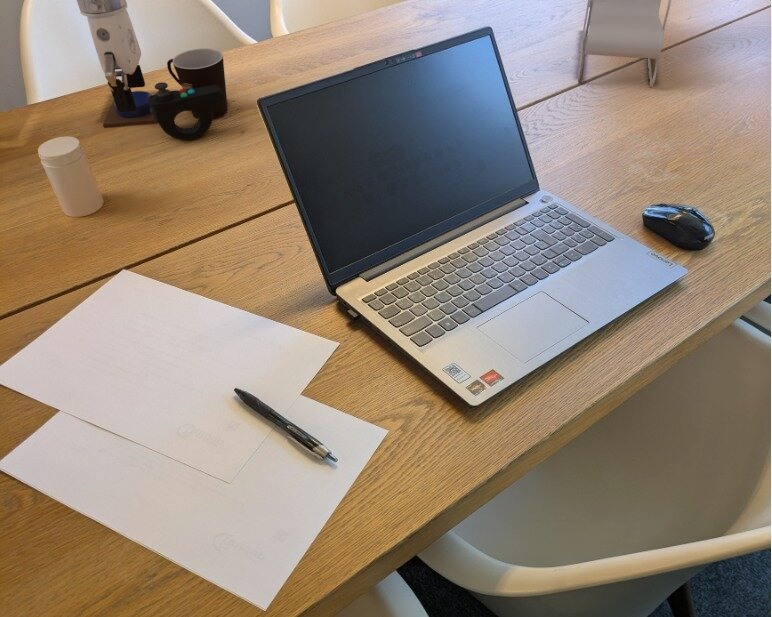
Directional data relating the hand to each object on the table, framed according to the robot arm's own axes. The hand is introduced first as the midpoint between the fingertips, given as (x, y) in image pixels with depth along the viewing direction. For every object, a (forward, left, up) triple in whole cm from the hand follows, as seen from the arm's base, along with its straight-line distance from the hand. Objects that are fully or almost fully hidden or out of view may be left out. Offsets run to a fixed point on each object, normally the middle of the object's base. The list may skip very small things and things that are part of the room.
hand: (132, 98), depth 120 cm
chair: (+93, +5, -3) cm, 93 cm away
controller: (+12, -11, -3) cm, 17 cm away
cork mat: (0, 0, -3) cm, 3 cm away
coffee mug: (+13, -1, -3) cm, 13 cm away
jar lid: (0, 0, -1) cm, 1 cm away
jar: (-3, -30, -3) cm, 30 cm away
